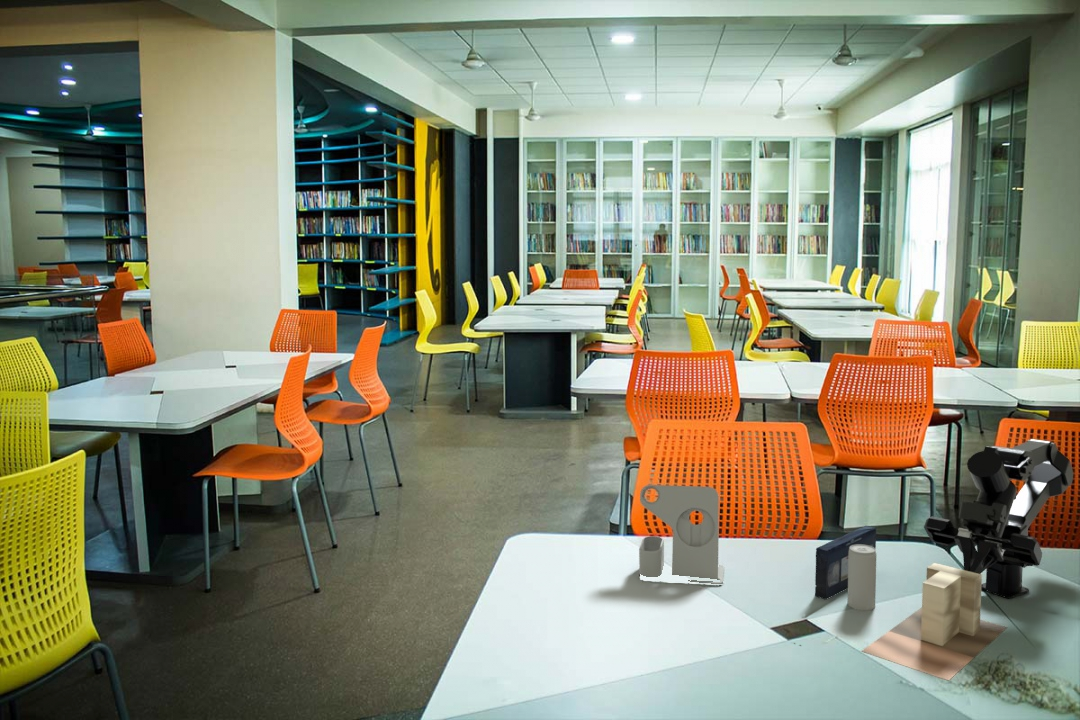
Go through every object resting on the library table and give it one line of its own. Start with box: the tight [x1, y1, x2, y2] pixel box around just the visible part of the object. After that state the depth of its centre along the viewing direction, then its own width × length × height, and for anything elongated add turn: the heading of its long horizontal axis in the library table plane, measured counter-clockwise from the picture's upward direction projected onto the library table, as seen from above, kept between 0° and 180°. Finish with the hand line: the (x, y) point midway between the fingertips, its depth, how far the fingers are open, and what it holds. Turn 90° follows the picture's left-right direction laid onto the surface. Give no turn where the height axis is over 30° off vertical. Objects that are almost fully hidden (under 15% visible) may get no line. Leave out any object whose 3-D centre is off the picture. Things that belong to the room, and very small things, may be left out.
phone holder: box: [638, 484, 725, 585], centre depth 180 cm, size 17×10×18 cm, turn 77°
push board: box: [861, 606, 1008, 681], centre depth 147 cm, size 25×14×1 cm, turn 134°
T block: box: [921, 562, 983, 646], centre depth 148 cm, size 10×8×10 cm
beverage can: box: [847, 544, 877, 611], centre depth 161 cm, size 5×5×12 cm
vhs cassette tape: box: [814, 525, 877, 600], centre depth 173 cm, size 18×3×10 cm, turn 129°
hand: (967, 581), depth 155 cm, fingers closed
